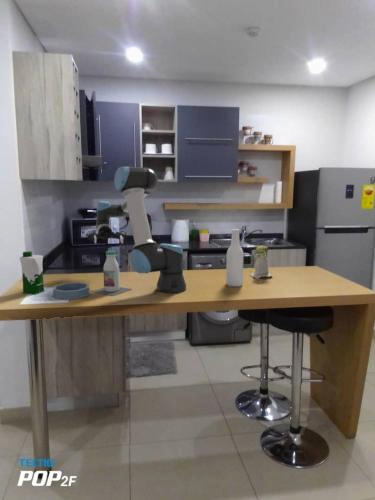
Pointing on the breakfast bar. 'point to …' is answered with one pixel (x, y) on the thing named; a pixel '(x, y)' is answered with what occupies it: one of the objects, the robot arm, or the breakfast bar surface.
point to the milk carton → (32, 273)
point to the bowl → (71, 291)
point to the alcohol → (234, 261)
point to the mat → (111, 292)
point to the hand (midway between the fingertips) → (109, 240)
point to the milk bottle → (111, 273)
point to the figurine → (261, 263)
